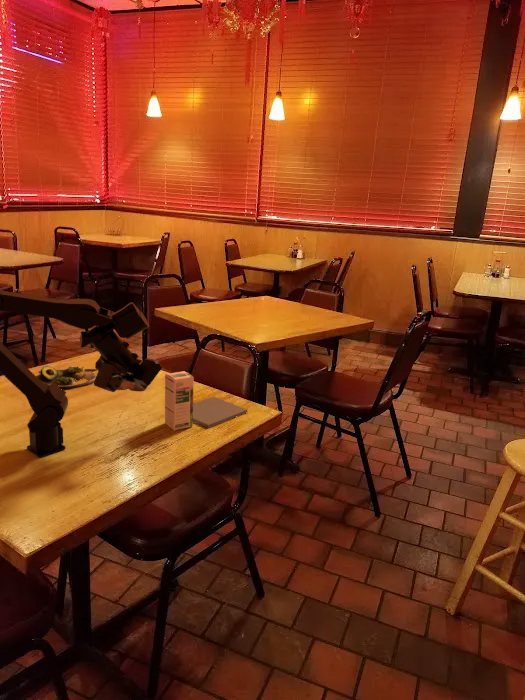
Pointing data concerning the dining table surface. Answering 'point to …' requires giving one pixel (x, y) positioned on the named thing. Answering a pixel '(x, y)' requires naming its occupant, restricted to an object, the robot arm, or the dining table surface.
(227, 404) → the slate board
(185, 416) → the syrup box
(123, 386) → the wooden tablet
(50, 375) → the salad plate
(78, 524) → the dining table surface
